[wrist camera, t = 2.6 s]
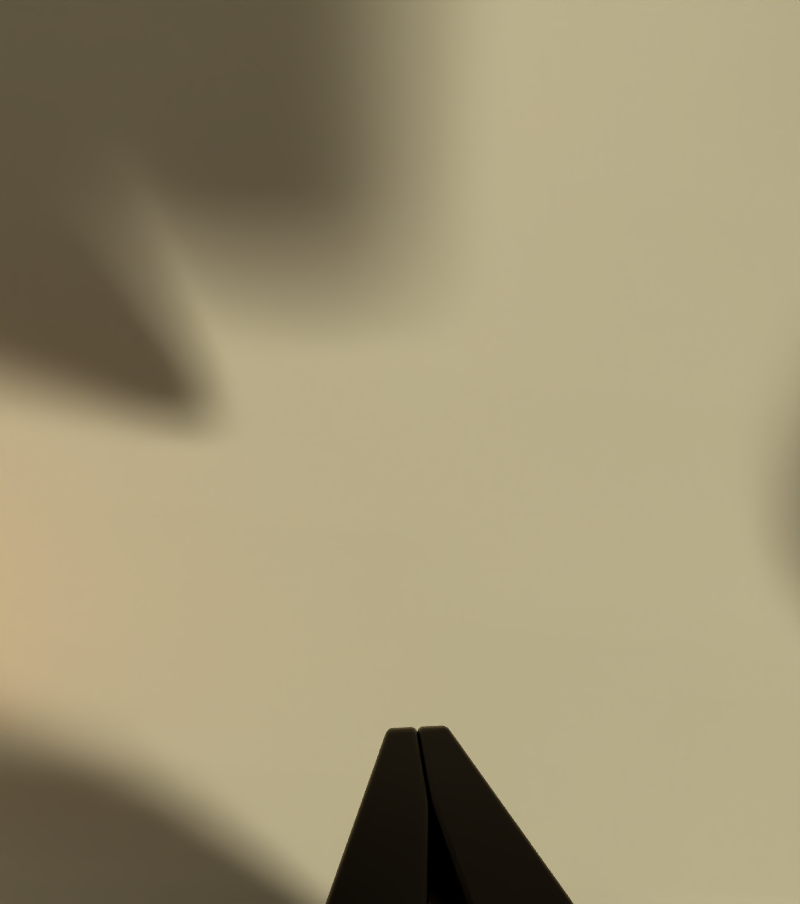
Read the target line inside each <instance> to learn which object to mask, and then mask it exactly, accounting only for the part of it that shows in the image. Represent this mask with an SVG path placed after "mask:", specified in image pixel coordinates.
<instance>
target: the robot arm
mask: <svg viewBox="0 0 800 904" xmlns="http://www.w3.org/2000/svg"><path fill="white" fill-rule="evenodd" d="M326 904H573V902H572V901H571V899H570V898H569V897H568V895H567V894H566V892H565V891H564V890H563V888H562V887H561V885H560V884H559V883H558V881H557V880H556V878H555V877H554V876H553V874H552V873H551V871H550V870H549V869H548V867H547V866H546V864H545V863H544V862H543V860H542V859H541V857H540V856H539V855H538V853H537V852H536V850H535V849H534V848H533V846H532V845H531V843H530V842H529V841H528V839H527V838H526V836H525V835H524V834H523V832H522V831H521V829H520V828H519V827H518V825H517V824H516V822H515V821H514V820H513V818H512V817H511V815H510V814H509V813H508V811H507V810H506V808H505V807H504V806H503V804H502V803H501V801H500V800H499V799H498V797H497V796H496V794H495V793H494V792H493V790H492V789H491V787H490V786H489V785H488V783H487V782H486V780H485V779H484V778H483V776H482V775H481V773H480V772H479V771H478V769H477V768H476V766H475V765H474V764H473V762H472V761H471V759H470V758H469V757H468V755H467V754H466V752H465V751H464V750H463V748H462V747H461V745H460V744H459V743H458V741H457V740H456V738H455V737H454V736H453V734H452V733H451V731H450V730H449V729H448V728H447V727H445V726H426V727H420V728H419V729H418V731H416V729H415V728H413V727H406V728H391V729H389V730H388V731H387V732H386V734H385V737H384V740H383V743H382V745H381V748H380V751H379V754H378V757H377V760H376V762H375V765H374V768H373V771H372V774H371V777H370V779H369V782H368V785H367V788H366V791H365V794H364V796H363V799H362V802H361V805H360V808H359V811H358V813H357V816H356V819H355V822H354V825H353V828H352V830H351V833H350V836H349V839H348V842H347V845H346V847H345V850H344V853H343V856H342V859H341V862H340V864H339V867H338V870H337V873H336V876H335V879H334V882H333V884H332V887H331V890H330V893H329V896H328V899H327V901H326Z"/></svg>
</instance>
